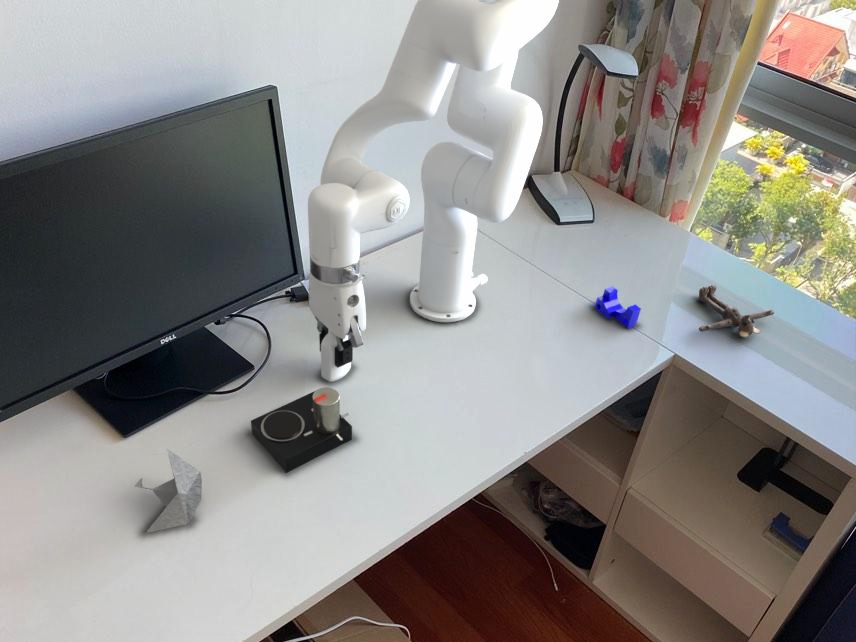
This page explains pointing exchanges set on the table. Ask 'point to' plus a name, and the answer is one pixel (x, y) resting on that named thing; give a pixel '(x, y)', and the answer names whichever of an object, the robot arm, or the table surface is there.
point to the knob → (326, 410)
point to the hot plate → (302, 436)
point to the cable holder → (616, 308)
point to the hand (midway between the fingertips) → (336, 355)
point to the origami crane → (177, 495)
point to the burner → (282, 426)
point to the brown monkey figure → (730, 314)
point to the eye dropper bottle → (331, 359)
